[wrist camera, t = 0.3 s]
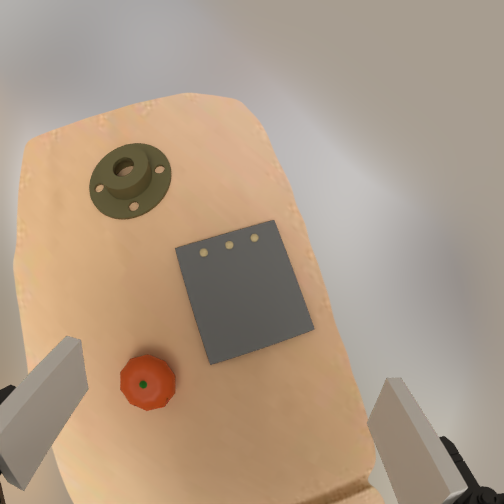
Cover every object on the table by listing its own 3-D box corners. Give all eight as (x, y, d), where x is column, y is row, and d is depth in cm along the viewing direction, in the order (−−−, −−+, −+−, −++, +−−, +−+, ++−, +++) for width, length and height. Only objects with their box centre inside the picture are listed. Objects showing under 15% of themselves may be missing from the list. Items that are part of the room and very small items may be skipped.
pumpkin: (121, 362, 43) (104, 363, 35) (170, 349, 44) (161, 349, 37) (136, 409, 41) (121, 419, 34) (186, 398, 42) (179, 407, 35)
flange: (176, 192, 47) (159, 121, 51) (85, 220, 44) (80, 146, 48) (180, 205, 51) (163, 137, 55) (95, 231, 49) (88, 160, 52)
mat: (312, 329, 47) (315, 329, 45) (210, 364, 44) (210, 365, 42) (273, 222, 51) (274, 219, 50) (175, 250, 48) (174, 247, 47)
